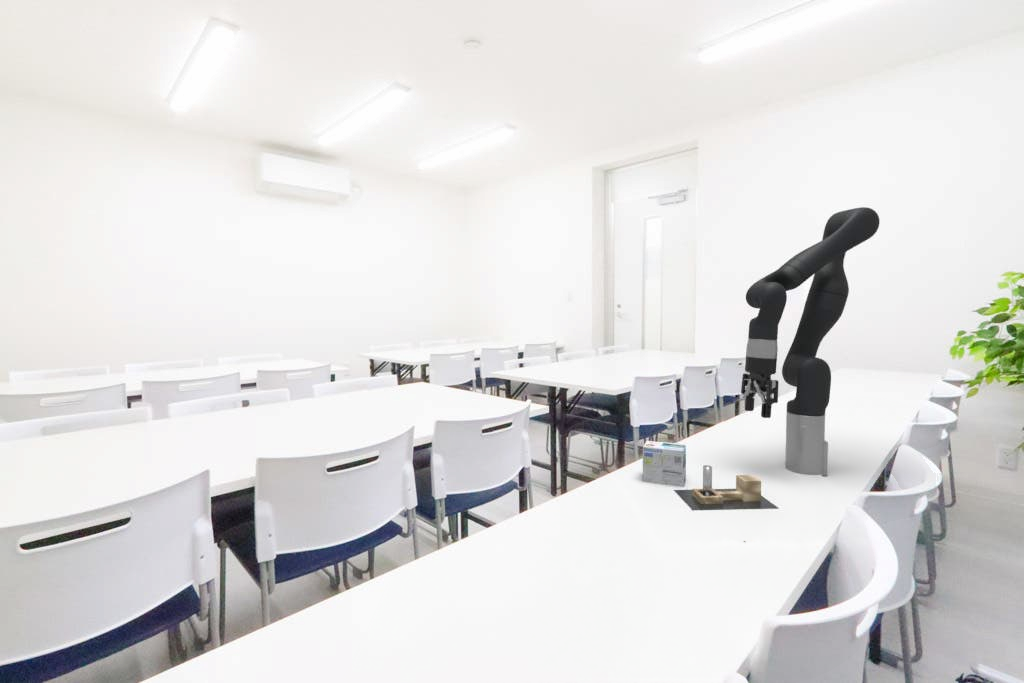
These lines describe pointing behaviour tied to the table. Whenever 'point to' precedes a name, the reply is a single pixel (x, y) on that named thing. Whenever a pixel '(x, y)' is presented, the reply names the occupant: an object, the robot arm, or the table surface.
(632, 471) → the table surface
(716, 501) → the tan wooden piece
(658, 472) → the light bulb box
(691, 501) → the post stand
